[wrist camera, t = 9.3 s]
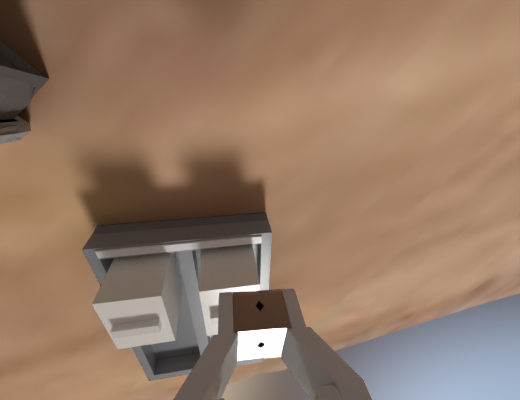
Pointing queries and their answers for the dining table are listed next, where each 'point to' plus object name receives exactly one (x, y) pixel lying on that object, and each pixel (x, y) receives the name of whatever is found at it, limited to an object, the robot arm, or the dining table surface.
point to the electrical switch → (16, 93)
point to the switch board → (181, 274)
